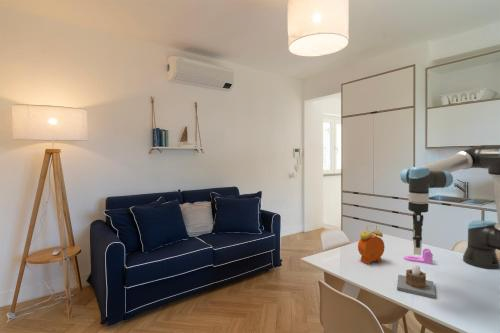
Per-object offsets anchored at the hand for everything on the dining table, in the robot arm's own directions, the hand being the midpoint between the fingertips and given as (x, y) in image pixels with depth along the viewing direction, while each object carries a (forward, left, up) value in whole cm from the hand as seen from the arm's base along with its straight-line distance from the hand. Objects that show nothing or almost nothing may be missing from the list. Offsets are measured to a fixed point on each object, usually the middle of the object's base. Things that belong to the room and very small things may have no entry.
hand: (417, 249), depth 122 cm
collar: (0, 0, -16) cm, 16 cm away
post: (0, 0, -17) cm, 17 cm away
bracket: (-1, -36, -18) cm, 40 cm away
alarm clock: (+21, -22, -17) cm, 35 cm away
